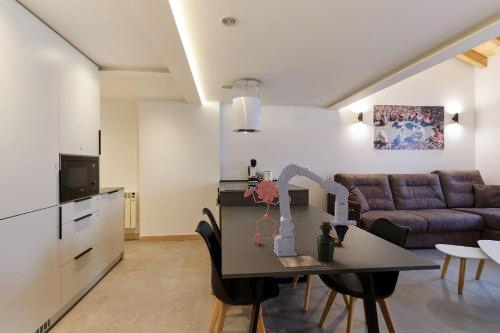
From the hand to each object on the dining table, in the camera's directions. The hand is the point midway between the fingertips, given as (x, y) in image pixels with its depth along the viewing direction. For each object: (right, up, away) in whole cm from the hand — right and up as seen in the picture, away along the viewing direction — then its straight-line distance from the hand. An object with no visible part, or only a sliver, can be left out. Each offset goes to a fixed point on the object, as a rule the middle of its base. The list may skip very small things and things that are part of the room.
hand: (340, 241), depth 122 cm
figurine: (-33, -8, +24) cm, 42 cm away
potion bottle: (-7, -9, -1) cm, 11 cm away
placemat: (-20, -8, -4) cm, 22 cm away
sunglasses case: (+3, -9, +27) cm, 28 cm away
